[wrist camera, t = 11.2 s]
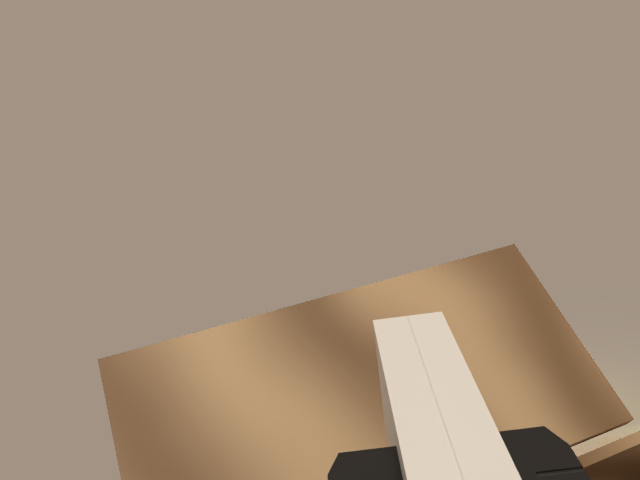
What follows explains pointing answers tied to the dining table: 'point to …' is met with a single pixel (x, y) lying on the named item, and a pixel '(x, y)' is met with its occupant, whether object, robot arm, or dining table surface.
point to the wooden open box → (614, 460)
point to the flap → (346, 376)
